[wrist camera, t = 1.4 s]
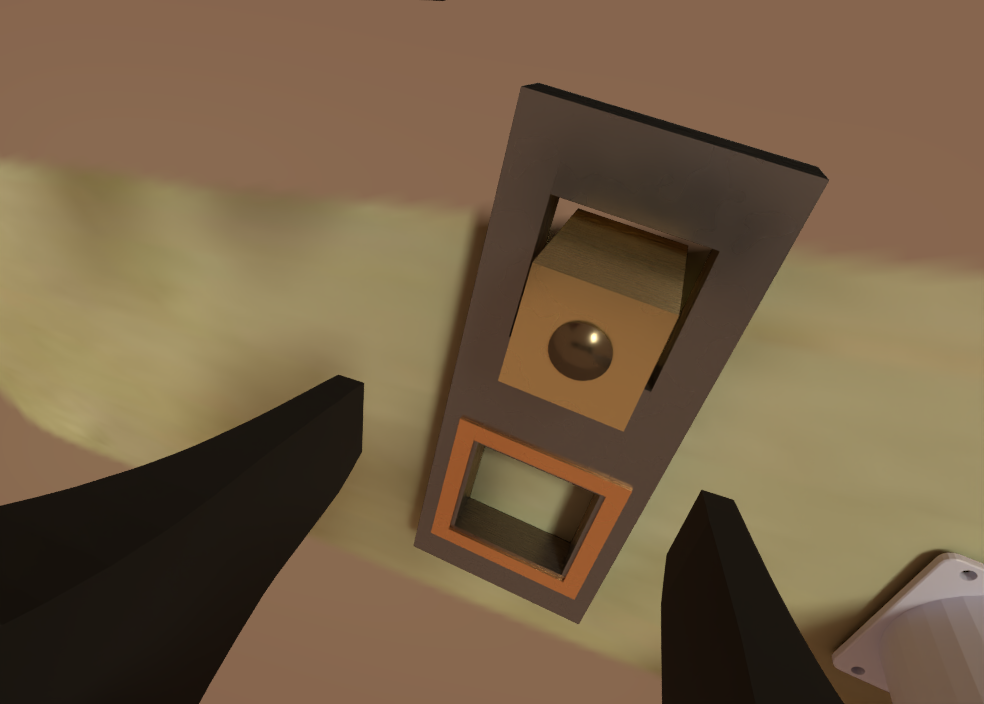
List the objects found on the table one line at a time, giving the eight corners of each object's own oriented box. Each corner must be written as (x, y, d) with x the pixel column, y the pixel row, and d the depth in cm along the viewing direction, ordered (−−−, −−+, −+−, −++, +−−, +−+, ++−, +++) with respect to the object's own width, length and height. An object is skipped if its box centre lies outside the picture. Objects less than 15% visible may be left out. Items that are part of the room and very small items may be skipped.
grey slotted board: (817, 166, 16) (830, 181, 15) (586, 590, 28) (578, 627, 27) (538, 83, 18) (519, 86, 16) (429, 518, 30) (412, 548, 28)
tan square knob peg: (688, 245, 19) (678, 317, 14) (644, 341, 21) (623, 433, 16) (578, 208, 20) (531, 263, 14) (546, 305, 22) (496, 382, 17)
